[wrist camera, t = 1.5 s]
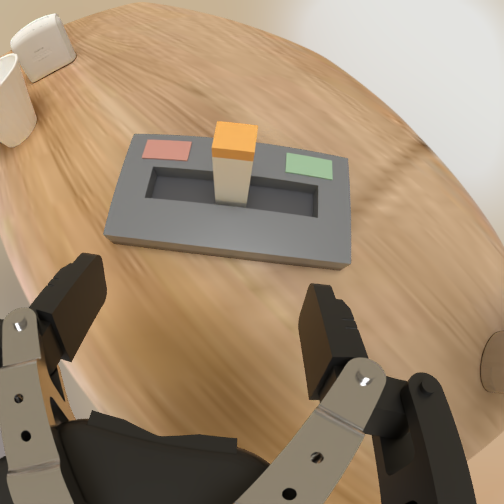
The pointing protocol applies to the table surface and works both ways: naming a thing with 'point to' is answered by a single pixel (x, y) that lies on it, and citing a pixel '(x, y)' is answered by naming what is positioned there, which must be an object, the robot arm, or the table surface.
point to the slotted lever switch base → (228, 217)
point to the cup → (14, 103)
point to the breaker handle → (233, 162)
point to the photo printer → (42, 47)
